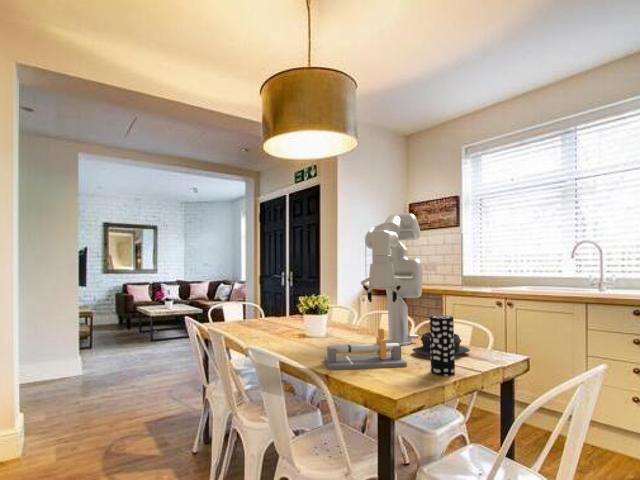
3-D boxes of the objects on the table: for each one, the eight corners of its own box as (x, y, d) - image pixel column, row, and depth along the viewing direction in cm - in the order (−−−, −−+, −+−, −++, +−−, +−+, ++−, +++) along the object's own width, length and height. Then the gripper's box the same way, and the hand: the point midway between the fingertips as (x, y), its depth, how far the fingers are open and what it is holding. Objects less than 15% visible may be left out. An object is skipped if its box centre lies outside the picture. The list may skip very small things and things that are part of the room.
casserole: (453, 347, 182) (452, 329, 182) (480, 357, 164) (479, 336, 165) (404, 351, 175) (404, 332, 175) (427, 362, 157) (426, 340, 158)
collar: (381, 354, 160) (381, 326, 161) (386, 358, 153) (385, 329, 154) (376, 354, 160) (376, 327, 161) (381, 358, 153) (380, 330, 154)
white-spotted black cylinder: (428, 369, 146) (427, 315, 147) (451, 369, 146) (449, 315, 147) (434, 376, 138) (432, 318, 139) (458, 376, 137) (456, 318, 138)
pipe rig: (395, 357, 164) (395, 339, 165) (406, 366, 150) (406, 346, 151) (324, 360, 161) (324, 341, 161) (329, 369, 147) (328, 349, 148)
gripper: (400, 260, 166) (401, 301, 165) (359, 260, 167) (360, 301, 166) (404, 260, 159) (404, 302, 158) (361, 260, 159) (361, 302, 158)
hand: (382, 301), depth 162 cm, fingers open, 9 cm apart
